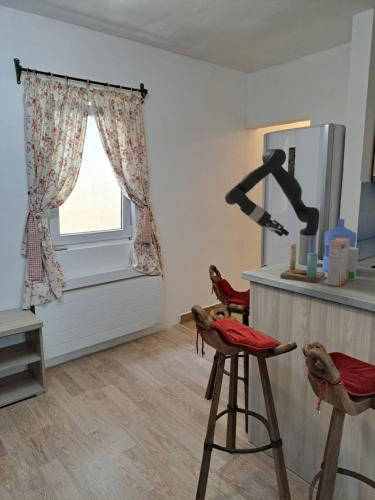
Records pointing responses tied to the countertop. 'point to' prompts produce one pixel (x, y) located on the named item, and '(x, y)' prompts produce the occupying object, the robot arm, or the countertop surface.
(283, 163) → the robot arm
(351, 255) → the skincare box
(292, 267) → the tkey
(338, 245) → the cracker box
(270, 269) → the countertop surface
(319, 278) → the brown wooden board
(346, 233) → the water jug
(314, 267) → the teal cylinder
